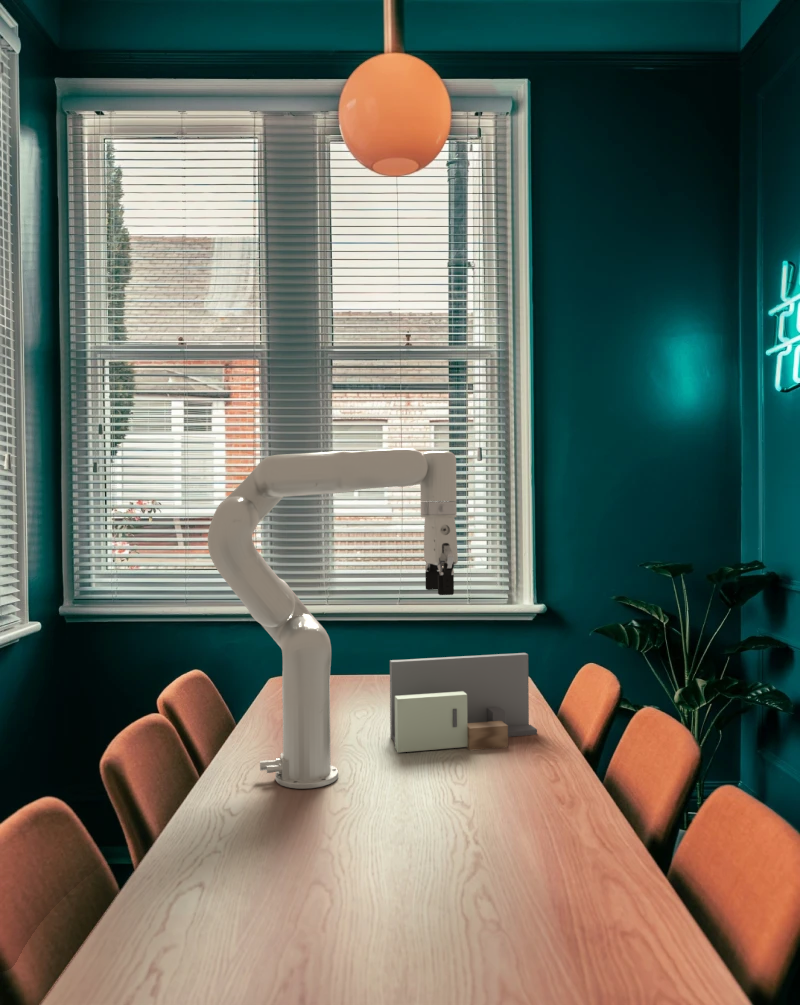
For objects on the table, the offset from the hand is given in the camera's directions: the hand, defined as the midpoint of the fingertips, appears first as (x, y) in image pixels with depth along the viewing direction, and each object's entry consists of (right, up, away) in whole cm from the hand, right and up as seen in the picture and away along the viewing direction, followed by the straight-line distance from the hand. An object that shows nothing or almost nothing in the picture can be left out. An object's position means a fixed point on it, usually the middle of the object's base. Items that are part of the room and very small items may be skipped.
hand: (439, 592), depth 161 cm
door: (-1, -36, +11) cm, 38 cm away
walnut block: (+11, -36, +13) cm, 40 cm away
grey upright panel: (+7, -36, +21) cm, 42 cm away
